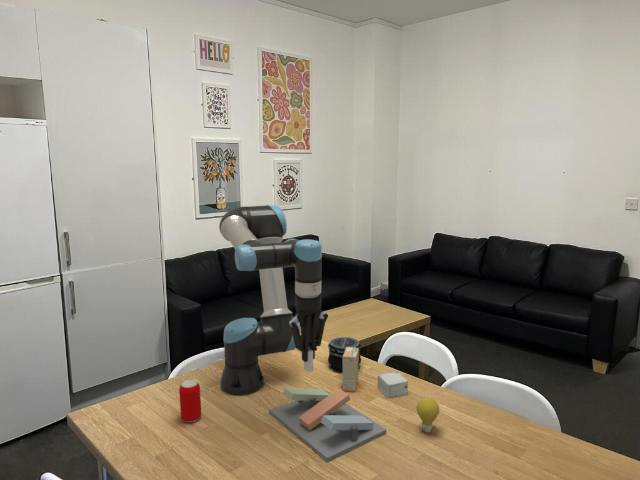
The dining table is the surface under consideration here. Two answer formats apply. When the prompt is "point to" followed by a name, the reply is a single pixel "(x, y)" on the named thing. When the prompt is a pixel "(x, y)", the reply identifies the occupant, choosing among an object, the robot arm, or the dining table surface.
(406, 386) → the small box
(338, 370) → the container
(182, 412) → the beverage can
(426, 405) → the light bulb
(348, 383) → the supplement box
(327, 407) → the rocker terracotta
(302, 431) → the board
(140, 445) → the dining table surface
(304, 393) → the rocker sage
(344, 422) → the rocker blue
